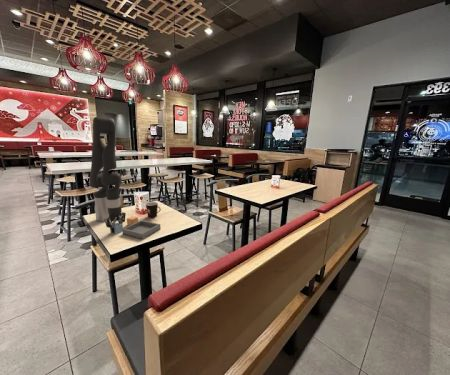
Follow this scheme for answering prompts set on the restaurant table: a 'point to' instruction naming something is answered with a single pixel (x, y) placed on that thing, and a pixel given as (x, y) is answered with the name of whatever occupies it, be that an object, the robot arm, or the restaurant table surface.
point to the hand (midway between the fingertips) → (116, 230)
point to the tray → (141, 229)
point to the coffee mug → (152, 209)
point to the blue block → (118, 228)
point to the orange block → (132, 220)
